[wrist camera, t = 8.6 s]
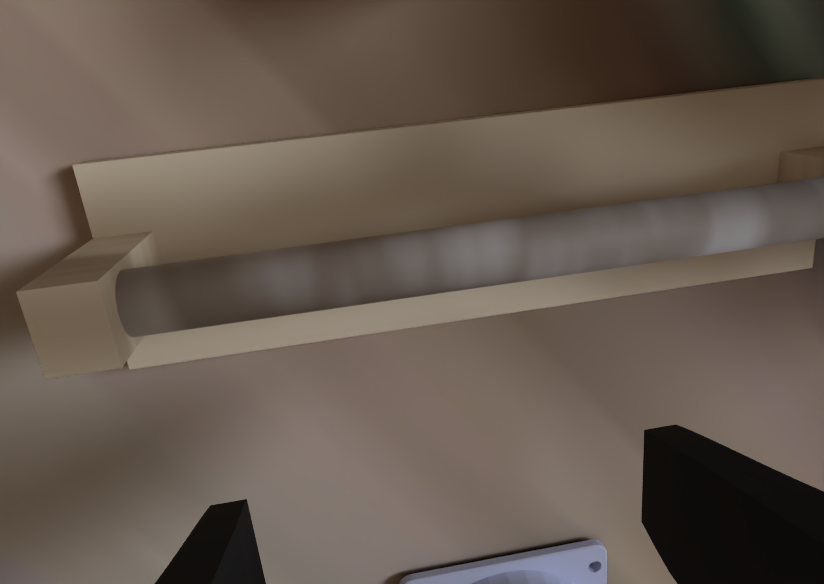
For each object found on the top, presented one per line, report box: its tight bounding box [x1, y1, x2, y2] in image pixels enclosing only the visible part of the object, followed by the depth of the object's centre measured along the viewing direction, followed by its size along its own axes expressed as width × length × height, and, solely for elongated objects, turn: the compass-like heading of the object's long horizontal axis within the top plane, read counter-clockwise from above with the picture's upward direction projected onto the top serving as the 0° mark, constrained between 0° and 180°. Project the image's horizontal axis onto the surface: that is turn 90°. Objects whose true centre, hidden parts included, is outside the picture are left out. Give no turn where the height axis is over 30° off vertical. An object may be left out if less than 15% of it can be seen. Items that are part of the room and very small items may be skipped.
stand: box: [16, 78, 824, 379], centre depth 17 cm, size 6×22×5 cm, turn 96°
